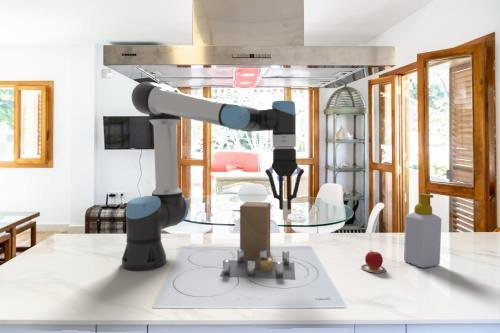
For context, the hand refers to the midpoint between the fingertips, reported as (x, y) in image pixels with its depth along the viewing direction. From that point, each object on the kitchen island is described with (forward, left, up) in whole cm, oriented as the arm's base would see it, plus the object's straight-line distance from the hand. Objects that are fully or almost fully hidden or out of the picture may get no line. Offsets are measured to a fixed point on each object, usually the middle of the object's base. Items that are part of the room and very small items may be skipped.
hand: (285, 219), depth 118 cm
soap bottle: (+49, +14, -18) cm, 54 cm away
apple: (+30, +6, -18) cm, 36 cm away
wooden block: (-11, +16, -18) cm, 26 cm away
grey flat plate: (-9, 0, -18) cm, 20 cm away
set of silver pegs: (-9, 0, -18) cm, 20 cm away
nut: (-7, 0, -17) cm, 19 cm away
